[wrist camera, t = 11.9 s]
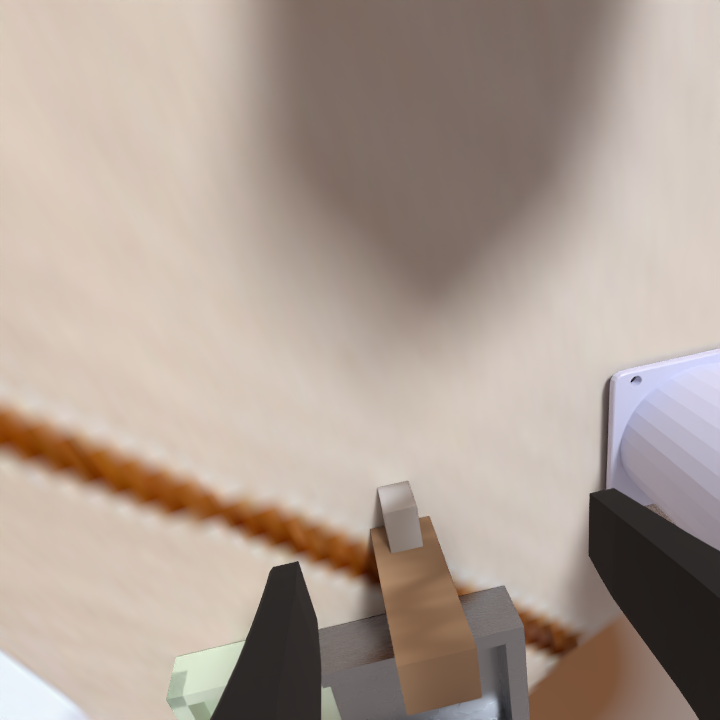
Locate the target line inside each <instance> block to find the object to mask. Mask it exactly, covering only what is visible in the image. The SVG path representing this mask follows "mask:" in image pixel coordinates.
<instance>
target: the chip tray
mask: <svg viewBox="0 0 720 720" xmlns="http://www.w3.org/2000/svg"><path fill="white" fill-rule="evenodd" d="M244 643H245V641H242V642H238V643H233V644H229V645H225V646H221V647H217V648H212V649H208V650H204V651H200V652H195V653H191V654H187V655H183V656H179V657H176V660H175V665H174V669H173V673H172V677H171V682H170V686H169V690H168V695H167V699H166V700H167V702H168V704H169V705H170V707H171V709H172V711H173V712H174V714H175V716H176V718H177V719H178V720H210V718H211V716H212V714H213V712H214V710H215V708H216V706H217V704H218V702H219V700H220V698H221V696H222V694H223V691H224V689H225V687H226V685H227V683H228V680H229V678H230V676H231V674H232V672H233V670H234V667H235V665H236V663H237V661H238V658H239V656H240V653H241V651H242V648H243V646H244ZM321 720H341V717H340V714H339V711H338V708H337V705H336V702H335V699H334V696H333V693H332V690H331V687H327V688H323V687H322V684H321Z"/></svg>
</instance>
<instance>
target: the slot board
mask: <svg viewBox="0 0 720 720" xmlns="http://www.w3.org/2000/svg"><path fill="white" fill-rule="evenodd" d="M459 600H460V603H461V605H462V608H463V611H464V614H465V616H466V619H467V622H468V625H469V628H470V630H471V633H472V636H473V639H474V641H475V644H476V647H477V654H478V663H479V672H480V681H481V691H482V698H480V699H476V700H472V701H468V702H463V703H459V704H455V705H451V706H447V707H442V708H438V709H434V710H430V711H426V712H421V713H417V714H413V715H409V716H407V712H406V707H405V703H404V698H403V693H402V689H401V684H400V680H399V675H398V670H397V666H396V661H395V655H394V650H393V645H392V640H391V635H390V630H389V624H388V619H387V614H383V615H379V616H375V617H371V618H367V619H362V620H358V621H354V622H350V623H346V624H341V625H337V626H333V627H329V628H325V629H320V630H318V633H319V643H320V655H321V684H322V687H323V688H327V687H331V690H332V693H333V696H334V699H335V702H336V705H337V708H338V711H339V714H340V717H341V720H530V715H529V699H528V684H527V668H526V652H525V636H524V626H523V624H522V621H521V619H520V617H519V615H518V613H517V611H516V609H515V607H514V605H513V602H512V600H511V598H510V596H509V594H508V592H507V590H506V588H505V586H501V587H497V588H493V589H489V590H484V591H480V592H476V593H472V594H468V595H463V596H459Z"/></svg>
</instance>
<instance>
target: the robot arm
mask: <svg viewBox="0 0 720 720" xmlns="http://www.w3.org/2000/svg"><path fill="white" fill-rule="evenodd" d="M635 376H636V378H635V380H634V381H633V382H631V380H632V378H633V377H635ZM630 382H631V383H630ZM651 504H656V505H657V506H658V507H659V508H660V509H661V510H662V511H663V512H664V513H665V514H666V515H667V516H668V517H669V518H670V519H671V520H672V521H673V522H674V523H675V524H676V525H677V526H676V525H674V524H672V523H671V522H669V521H668V520H666V519H664V518H663V517H661V516H659V515H658V514H656V513H654V512H653V511H651V510H649V509H648V508H646V507H645V506H647V505H651ZM589 557H590V559H591V561H592V562H593V564H594V566H595V568H596V570H597V571H598V573H599V575H600V577H601V579H602V580H603V582H604V584H605V586H606V587H607V589H608V591H609V592H610V594H611V596H612V597H613V599H614V600H615V602H616V603H617V604H618V606H619V607H620V609H621V610H622V611H623V613H624V614H625V616H626V617H627V618H628V620H629V621H630V622H631V624H632V625H633V627H634V628H635V629H636V631H637V632H638V634H639V635H640V636H641V638H642V639H643V640H644V642H645V643H646V644H647V646H648V647H649V649H650V650H651V651H652V653H653V654H654V655H655V657H656V658H657V659H658V661H659V662H660V664H661V665H662V666H663V668H664V669H665V671H666V672H667V673H668V675H669V676H670V677H671V679H672V680H673V682H674V683H675V684H676V686H677V687H678V688H679V690H680V691H681V693H682V694H683V696H684V697H685V699H686V700H687V702H688V703H689V704H690V706H691V708H692V709H693V711H694V712H695V714H696V715H697V717H698V718H699V720H720V348H719V349H715V350H710V351H706V352H702V353H697V354H693V355H688V356H684V357H679V358H675V359H670V360H666V361H661V362H657V363H652V364H648V365H644V366H639V367H635V368H630V369H626V370H621V371H619V372H617V373H615V374H614V375H613V376H612V378H611V380H610V395H609V424H608V452H607V480H606V490H603V491H598V492H594V493H590V503H589ZM210 720H321V655H320V643H319V633H318V623H317V618H316V614H315V611H314V608H313V605H312V602H311V599H310V596H309V593H308V590H307V587H306V583H305V580H304V577H303V574H302V571H301V568H300V565H299V562H298V561H297V562H293V563H289V564H285V565H280V566H276V567H273V568H272V569H271V571H270V573H269V576H268V580H267V583H266V586H265V589H264V592H263V595H262V598H261V601H260V604H259V607H258V610H257V612H256V615H255V618H254V621H253V623H252V626H251V628H250V631H249V633H248V636H247V638H246V641H245V643H244V646H243V648H242V651H241V653H240V656H239V658H238V661H237V663H236V665H235V667H234V670H233V672H232V674H231V676H230V678H229V680H228V683H227V685H226V687H225V689H224V691H223V694H222V696H221V698H220V700H219V702H218V704H217V706H216V708H215V710H214V712H213V714H212V716H211V718H210Z"/></svg>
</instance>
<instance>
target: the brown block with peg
mask: <svg viewBox="0 0 720 720" xmlns="http://www.w3.org/2000/svg"><path fill="white" fill-rule="evenodd" d="M378 493H379V498H380V503H381V508H382V514H383V519H384V524H385V526H382V527H377V528H373V529H370V531H371V537H372V542H373V547H374V552H375V557H376V562H377V568H378V573H379V578H380V583H381V588H382V593H383V599H384V604H385V609H386V614H387V619H388V624H389V630H390V635H391V640H392V645H393V650H394V655H395V661H396V666H397V670H398V675H399V680H400V684H401V689H402V693H403V698H404V703H405V707H406V712H407V716H409V715H413V714H417V713H421V712H426V711H430V710H434V709H438V708H442V707H447V706H451V705H455V704H459V703H463V702H468V701H472V700H476V699H480V698H482V691H481V681H480V672H479V663H478V654H477V647H476V644H475V641H474V639H473V636H472V633H471V630H470V628H469V625H468V622H467V619H466V616H465V614H464V611H463V608H462V605H461V603H460V600H459V597H458V594H457V591H456V589H455V586H454V583H453V580H452V578H451V575H450V572H449V569H448V566H447V564H446V561H445V558H444V555H443V553H442V550H441V547H440V544H439V542H438V539H437V536H436V533H435V530H434V528H433V525H432V522H431V519H430V517H429V516H427V517H422V518H419V517H418V511H417V505H416V502H415V499H414V496H413V493H412V490H411V487H410V484H409V481H405V482H400V483H396V484H391V485H387V486H382V487H378Z"/></svg>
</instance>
